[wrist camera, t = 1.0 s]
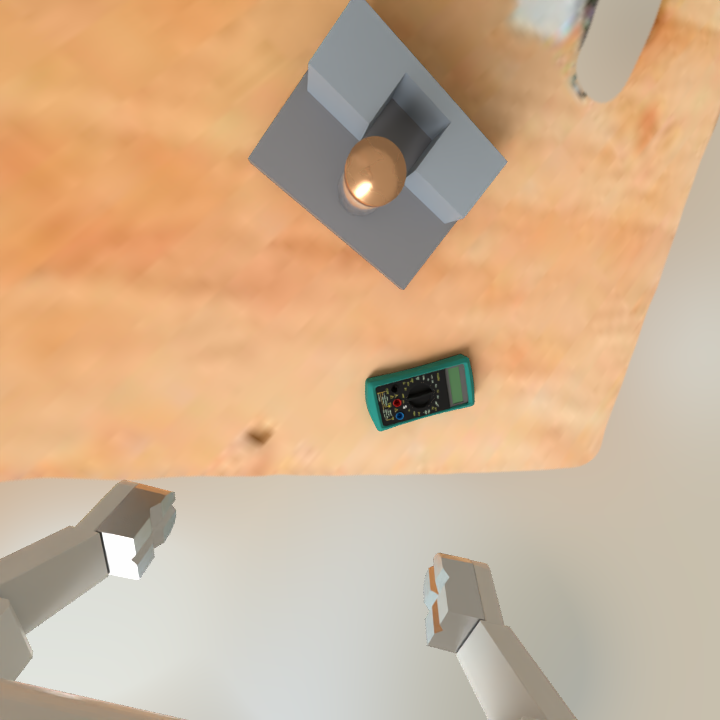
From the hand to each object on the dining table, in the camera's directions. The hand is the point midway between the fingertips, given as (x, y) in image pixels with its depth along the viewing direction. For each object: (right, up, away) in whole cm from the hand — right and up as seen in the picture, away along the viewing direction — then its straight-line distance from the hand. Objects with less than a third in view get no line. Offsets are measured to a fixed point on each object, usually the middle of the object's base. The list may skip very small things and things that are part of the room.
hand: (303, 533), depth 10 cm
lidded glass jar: (+2, +24, +27) cm, 36 cm away
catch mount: (+3, +27, +29) cm, 39 cm away
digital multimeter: (+10, +1, +38) cm, 39 cm away
